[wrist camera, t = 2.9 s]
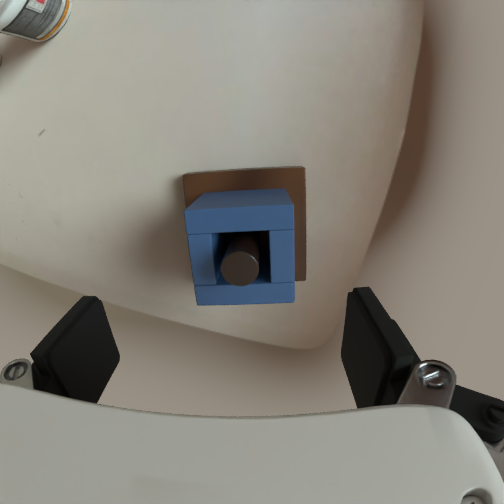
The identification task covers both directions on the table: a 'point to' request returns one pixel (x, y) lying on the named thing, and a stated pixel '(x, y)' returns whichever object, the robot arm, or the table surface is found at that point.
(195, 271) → the blue block
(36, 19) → the pill bottle
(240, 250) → the dowel stand
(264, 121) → the table surface
